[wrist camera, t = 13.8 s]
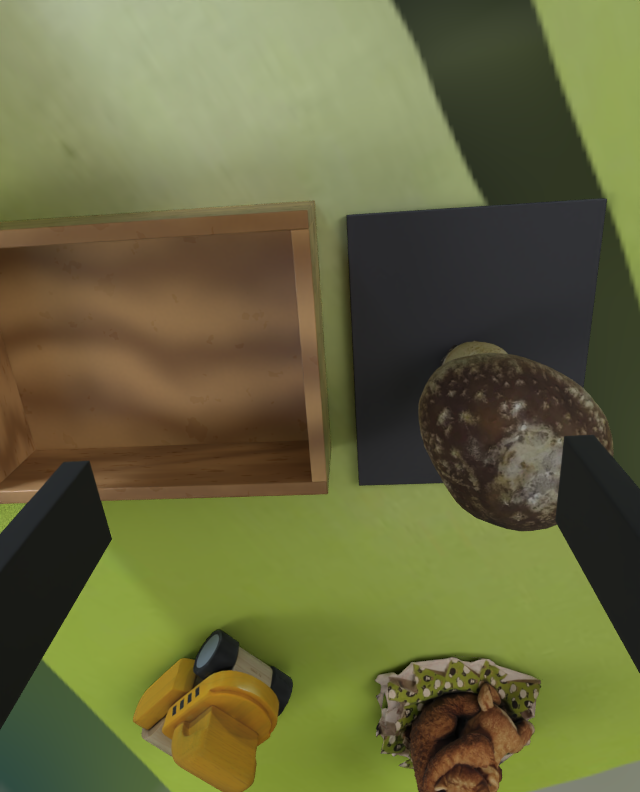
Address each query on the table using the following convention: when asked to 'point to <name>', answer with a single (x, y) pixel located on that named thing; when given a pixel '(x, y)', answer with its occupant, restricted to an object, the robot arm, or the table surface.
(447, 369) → the mushroom
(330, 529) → the table surface
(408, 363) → the mat
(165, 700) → the toy roller
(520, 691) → the bear figurine
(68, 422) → the crate
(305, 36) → the table surface
